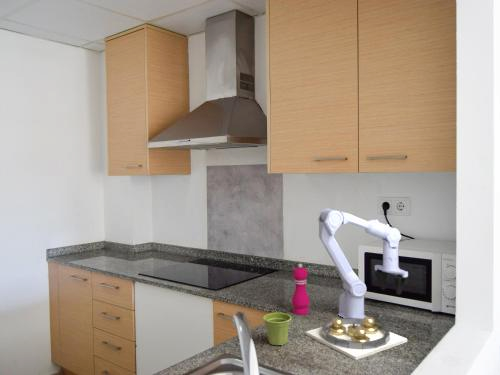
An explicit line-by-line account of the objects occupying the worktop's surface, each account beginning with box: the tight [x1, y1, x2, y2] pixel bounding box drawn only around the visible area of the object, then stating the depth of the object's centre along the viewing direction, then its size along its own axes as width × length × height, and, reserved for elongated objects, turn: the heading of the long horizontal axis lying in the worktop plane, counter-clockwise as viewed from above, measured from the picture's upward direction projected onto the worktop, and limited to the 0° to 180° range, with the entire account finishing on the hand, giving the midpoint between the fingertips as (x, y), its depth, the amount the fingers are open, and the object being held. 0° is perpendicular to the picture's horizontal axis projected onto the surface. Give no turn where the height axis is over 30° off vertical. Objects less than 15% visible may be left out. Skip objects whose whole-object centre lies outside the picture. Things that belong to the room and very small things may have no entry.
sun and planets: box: [329, 317, 370, 342], centre depth 142 cm, size 17×9×4 cm, turn 32°
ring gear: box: [321, 317, 390, 349], centre depth 143 cm, size 22×22×2 cm
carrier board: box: [305, 324, 408, 361], centre depth 143 cm, size 24×24×1 cm
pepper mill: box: [291, 263, 311, 316], centre depth 170 cm, size 7×7×20 cm
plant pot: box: [262, 312, 292, 346], centre depth 141 cm, size 9×9×9 cm
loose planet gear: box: [360, 315, 378, 334], centre depth 147 cm, size 6×6×4 cm
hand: (391, 291), depth 164 cm, fingers open, 7 cm apart
